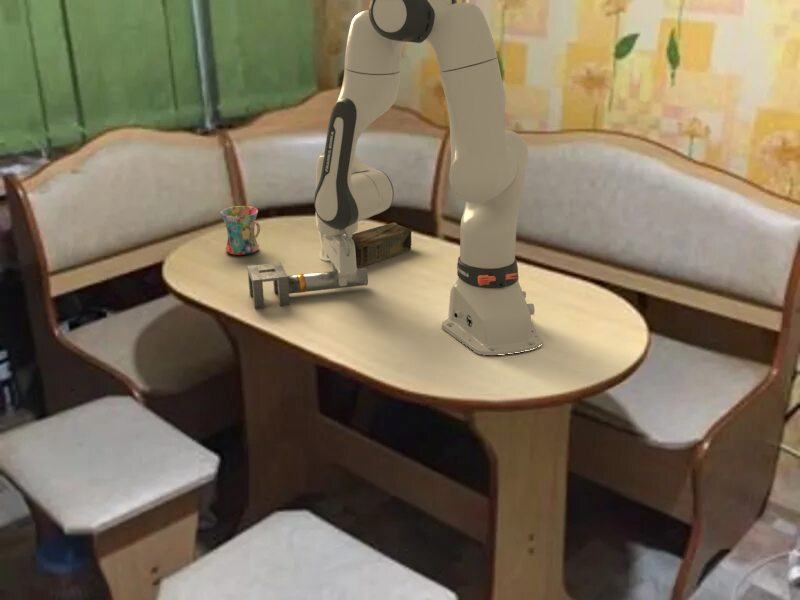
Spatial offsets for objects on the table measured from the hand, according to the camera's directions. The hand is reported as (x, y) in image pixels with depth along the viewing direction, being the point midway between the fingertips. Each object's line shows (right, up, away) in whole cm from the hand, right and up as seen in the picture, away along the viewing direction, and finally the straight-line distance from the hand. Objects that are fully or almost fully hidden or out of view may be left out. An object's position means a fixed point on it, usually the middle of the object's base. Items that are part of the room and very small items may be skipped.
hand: (339, 280), depth 200 cm
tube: (-4, -2, 0) cm, 4 cm away
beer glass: (-4, +6, +21) cm, 22 cm away
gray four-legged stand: (-15, -4, -3) cm, 16 cm away
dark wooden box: (+7, +6, +22) cm, 24 cm away
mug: (-25, +7, +25) cm, 36 cm away
